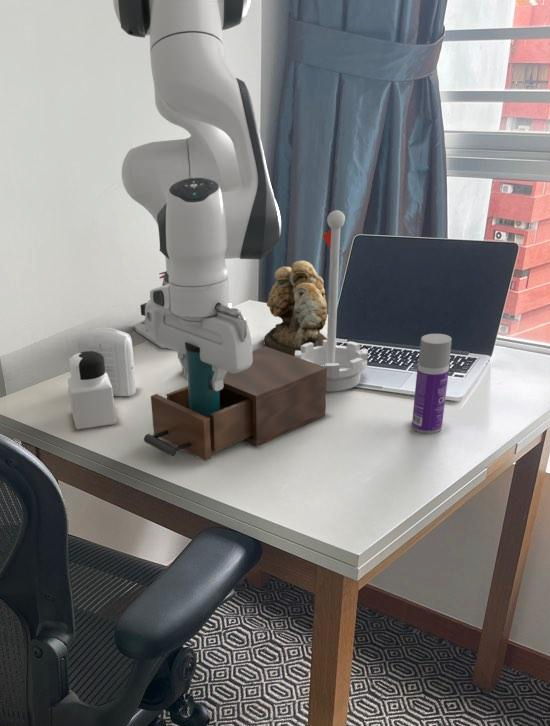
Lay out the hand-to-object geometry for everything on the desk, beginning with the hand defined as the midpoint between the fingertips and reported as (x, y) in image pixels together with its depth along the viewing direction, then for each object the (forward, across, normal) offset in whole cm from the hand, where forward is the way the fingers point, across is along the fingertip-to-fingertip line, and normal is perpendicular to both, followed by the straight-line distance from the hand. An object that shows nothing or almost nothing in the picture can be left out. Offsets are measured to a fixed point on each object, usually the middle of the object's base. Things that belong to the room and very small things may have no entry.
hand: (203, 383), depth 132 cm
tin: (+8, 0, 0) cm, 8 cm away
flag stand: (+10, +3, -32) cm, 34 cm away
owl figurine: (+10, +20, -40) cm, 46 cm away
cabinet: (+10, 0, -12) cm, 16 cm away
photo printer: (+10, +29, 0) cm, 31 cm away
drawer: (+9, 0, +1) cm, 9 cm away
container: (+10, -22, -28) cm, 37 cm away
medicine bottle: (+10, +21, +9) cm, 25 cm away
